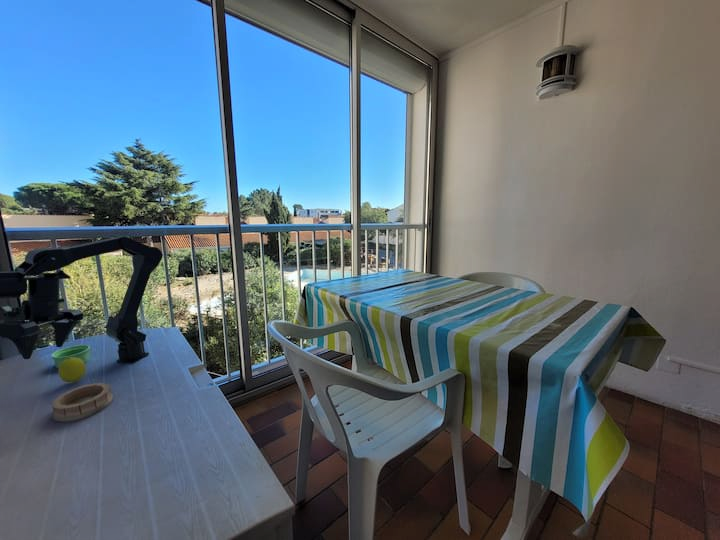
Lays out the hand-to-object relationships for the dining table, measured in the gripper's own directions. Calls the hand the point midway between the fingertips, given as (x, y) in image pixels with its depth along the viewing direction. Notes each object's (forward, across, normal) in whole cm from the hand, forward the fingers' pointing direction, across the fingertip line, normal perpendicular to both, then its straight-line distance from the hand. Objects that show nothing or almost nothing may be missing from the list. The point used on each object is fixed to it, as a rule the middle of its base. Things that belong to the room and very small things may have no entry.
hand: (43, 352), depth 77 cm
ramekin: (+10, -17, -6) cm, 21 cm away
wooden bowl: (+11, +8, +16) cm, 21 cm away
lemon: (+11, -4, +4) cm, 12 cm away
